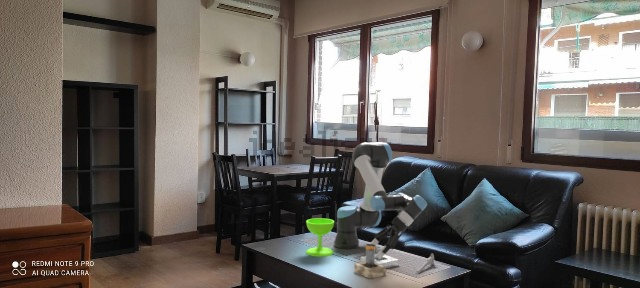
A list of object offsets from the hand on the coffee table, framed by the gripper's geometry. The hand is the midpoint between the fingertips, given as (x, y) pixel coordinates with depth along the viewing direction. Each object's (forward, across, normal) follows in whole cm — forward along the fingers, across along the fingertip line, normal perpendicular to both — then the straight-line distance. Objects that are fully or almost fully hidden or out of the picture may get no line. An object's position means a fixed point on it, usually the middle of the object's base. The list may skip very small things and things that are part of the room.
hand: (372, 253), depth 222 cm
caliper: (-13, +2, -28) cm, 31 cm away
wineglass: (+19, +41, +5) cm, 45 cm away
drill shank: (+8, +1, -6) cm, 10 cm away
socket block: (+1, +14, -13) cm, 19 cm away
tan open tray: (+8, +1, -6) cm, 10 cm away
